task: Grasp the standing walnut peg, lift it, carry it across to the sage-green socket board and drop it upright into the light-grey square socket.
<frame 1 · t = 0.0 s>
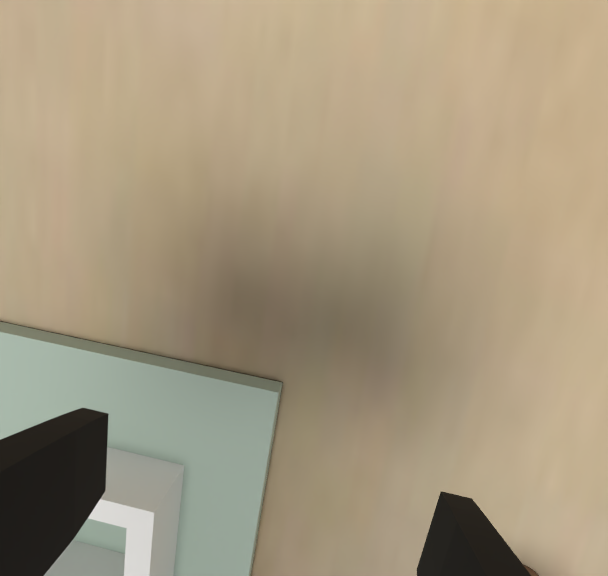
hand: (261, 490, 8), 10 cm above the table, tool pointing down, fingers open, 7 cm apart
socket board: (119, 495, 22), on the table
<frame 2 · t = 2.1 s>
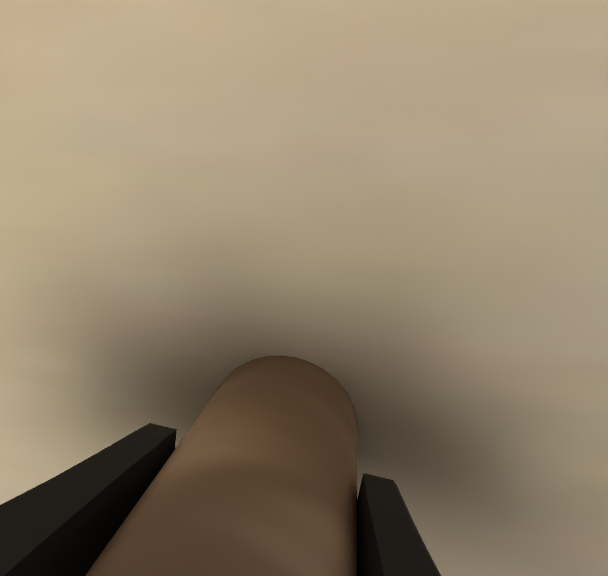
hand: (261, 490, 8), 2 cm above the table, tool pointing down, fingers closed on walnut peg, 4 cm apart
walnut peg: (283, 424, 11), on the table, touching gripper
when the fingers open (5 cm above the table, at t = 6.4 s): walnut peg drops 1 cm, resting on socket board.
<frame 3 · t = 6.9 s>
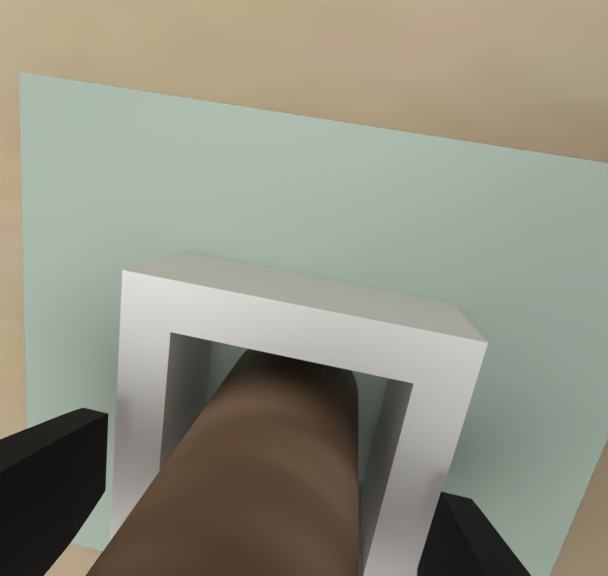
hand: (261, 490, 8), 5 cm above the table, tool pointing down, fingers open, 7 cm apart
walnut peg: (292, 395, 12), point 1 cm above the table, touching socket board
socket board: (296, 382, 13), on the table
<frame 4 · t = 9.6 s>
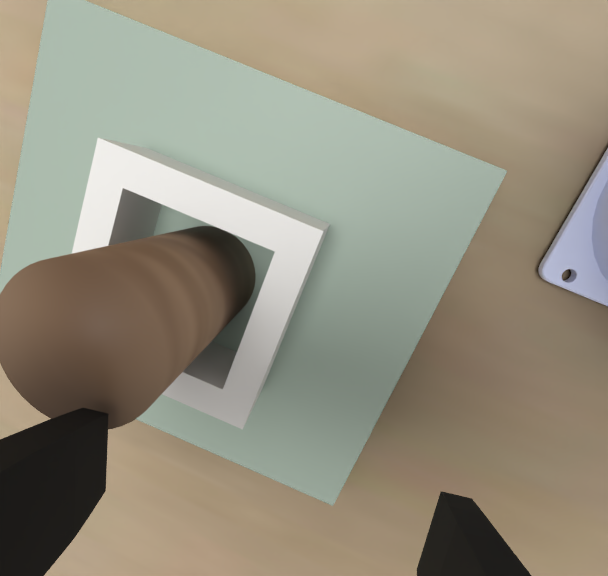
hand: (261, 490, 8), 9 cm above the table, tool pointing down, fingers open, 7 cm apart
walnut peg: (208, 274, 16), point 1 cm above the table, touching socket board
socket board: (216, 271, 17), on the table
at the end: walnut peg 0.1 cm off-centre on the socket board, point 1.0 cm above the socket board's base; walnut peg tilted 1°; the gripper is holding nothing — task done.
